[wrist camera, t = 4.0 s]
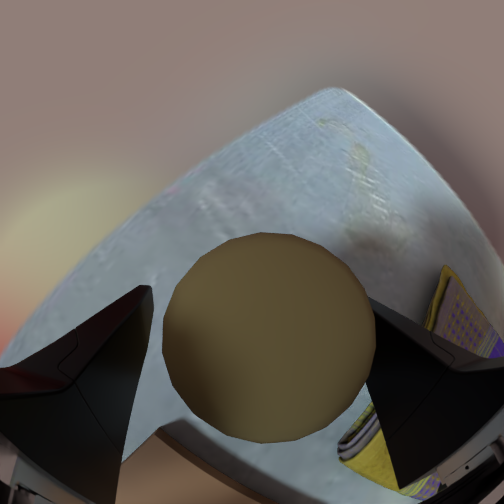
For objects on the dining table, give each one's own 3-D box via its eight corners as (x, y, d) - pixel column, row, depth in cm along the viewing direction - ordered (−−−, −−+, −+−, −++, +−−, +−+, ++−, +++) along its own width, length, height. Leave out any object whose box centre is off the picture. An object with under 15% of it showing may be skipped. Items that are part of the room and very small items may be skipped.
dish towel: (452, 514, 11) (467, 520, 8) (315, 446, 14) (332, 460, 11) (519, 388, 17) (535, 387, 14) (432, 262, 20) (453, 251, 17)
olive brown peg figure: (215, 275, 16) (226, 149, 6) (304, 322, 16) (436, 271, 6) (165, 363, 14) (75, 388, 4) (259, 410, 14) (345, 503, 4)
